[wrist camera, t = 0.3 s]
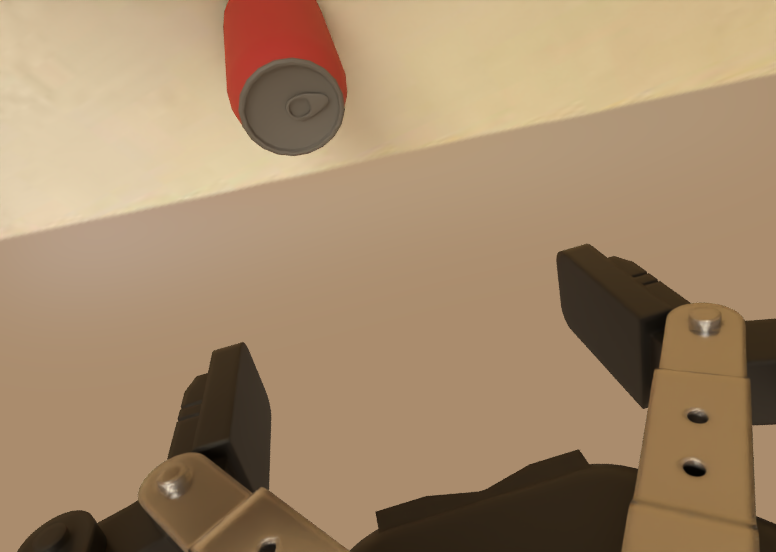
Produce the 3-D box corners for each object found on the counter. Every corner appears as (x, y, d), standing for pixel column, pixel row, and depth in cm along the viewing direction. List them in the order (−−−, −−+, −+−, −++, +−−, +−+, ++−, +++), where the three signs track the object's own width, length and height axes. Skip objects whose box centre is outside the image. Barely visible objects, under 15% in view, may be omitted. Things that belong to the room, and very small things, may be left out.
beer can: (333, 55, 40) (366, 144, 32) (245, 83, 40) (256, 178, 32) (305, -43, 36) (335, 32, 27) (206, -12, 36) (206, 72, 27)
